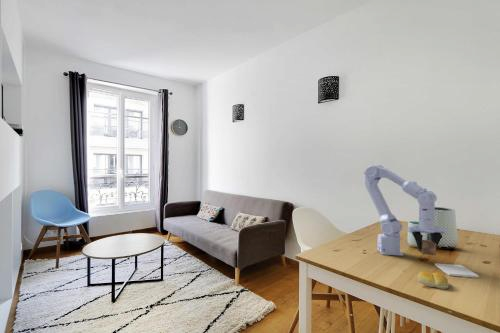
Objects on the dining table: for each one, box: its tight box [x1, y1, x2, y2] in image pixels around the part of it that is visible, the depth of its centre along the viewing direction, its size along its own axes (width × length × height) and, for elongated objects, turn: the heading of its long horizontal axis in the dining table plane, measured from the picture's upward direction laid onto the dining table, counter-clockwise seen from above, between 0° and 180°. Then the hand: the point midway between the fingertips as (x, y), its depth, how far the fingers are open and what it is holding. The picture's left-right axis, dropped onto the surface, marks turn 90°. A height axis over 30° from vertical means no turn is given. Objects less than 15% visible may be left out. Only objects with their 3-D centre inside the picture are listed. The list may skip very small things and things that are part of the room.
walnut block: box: [417, 239, 437, 256], centre depth 108 cm, size 5×5×5 cm
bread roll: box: [417, 270, 449, 290], centre depth 88 cm, size 8×9×4 cm
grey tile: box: [434, 262, 480, 279], centre depth 98 cm, size 10×10×1 cm
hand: (426, 249), depth 108 cm, fingers closed on walnut block, 5 cm apart
